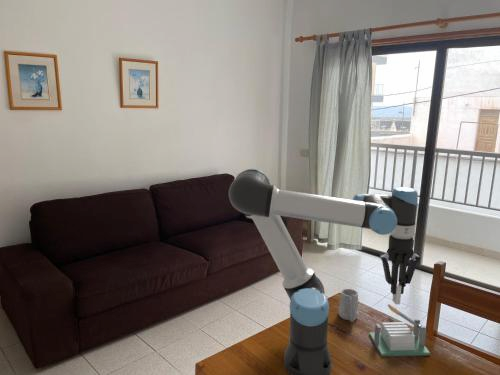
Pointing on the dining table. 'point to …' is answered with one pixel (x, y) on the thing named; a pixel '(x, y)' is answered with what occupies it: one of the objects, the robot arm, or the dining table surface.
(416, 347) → the heatsink board
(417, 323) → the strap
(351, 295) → the white cup
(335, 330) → the dining table surface
